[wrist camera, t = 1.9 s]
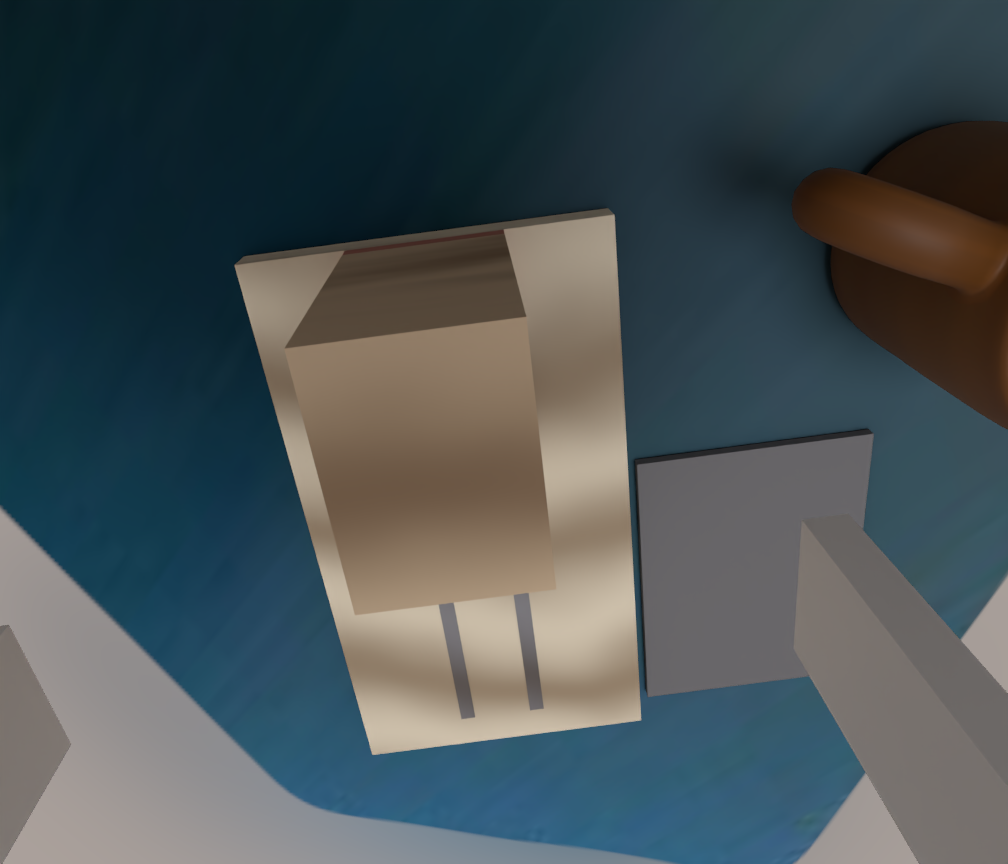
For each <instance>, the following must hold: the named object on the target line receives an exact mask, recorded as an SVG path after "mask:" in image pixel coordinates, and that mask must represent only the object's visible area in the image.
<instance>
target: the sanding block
mask: <svg viewBox="0 0 1008 864" xmlns="http://www.w3.org/2000/svg"><path fill="white" fill-rule="evenodd" d="M284 350H285V354H286V358H287V361H288V365H289V369H290V373H291V377H292V380H293V384H294V388H295V392H296V395H297V399H298V403H299V407H300V410H301V414H302V418H303V422H304V425H305V429H306V433H307V437H308V441H309V444H310V448H311V452H312V456H313V459H314V463H315V467H316V471H317V474H318V478H319V482H320V486H321V489H322V493H323V497H324V501H325V505H326V508H327V512H328V516H329V520H330V523H331V527H332V531H333V535H334V538H335V542H336V546H337V550H338V553H339V557H340V561H341V565H342V569H343V572H344V576H345V580H346V584H347V587H348V591H349V595H350V599H351V602H352V606H353V610H354V614H355V615H362V614H370V613H378V612H385V611H393V610H401V609H408V608H416V607H424V606H432V605H439V604H447V603H455V602H462V601H470V600H478V599H486V598H493V597H501V596H509V595H516V594H524V593H532V592H539V591H547V590H555V589H556V580H555V571H554V562H553V553H552V544H551V535H550V526H549V517H548V508H547V499H546V490H545V481H544V472H543V463H542V454H541V445H540V436H539V426H538V417H537V408H536V399H535V390H534V381H533V372H532V363H531V354H530V345H529V336H528V327H527V318H526V313H525V310H524V306H523V302H522V298H521V294H520V291H519V287H518V283H517V279H516V275H515V272H514V268H513V264H512V260H511V256H510V253H509V249H508V245H507V241H506V237H505V234H504V230H498V231H490V232H482V233H475V234H467V235H460V236H452V237H445V238H437V239H430V240H422V241H415V242H407V243H399V244H392V245H384V246H377V247H369V248H362V249H354V250H347V251H344V253H343V255H342V256H341V258H340V259H339V261H338V263H337V264H336V266H335V267H334V269H333V271H332V272H331V274H330V275H329V277H328V279H327V280H326V282H325V284H324V285H323V287H322V288H321V290H320V292H319V293H318V295H317V296H316V298H315V300H314V301H313V303H312V304H311V306H310V308H309V309H308V311H307V313H306V314H305V316H304V317H303V319H302V321H301V322H300V324H299V325H298V327H297V329H296V330H295V332H294V334H293V335H292V337H291V338H290V340H289V342H288V343H287V345H286V346H285V348H284Z"/></svg>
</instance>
